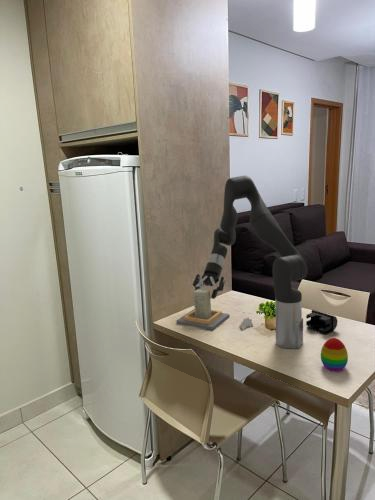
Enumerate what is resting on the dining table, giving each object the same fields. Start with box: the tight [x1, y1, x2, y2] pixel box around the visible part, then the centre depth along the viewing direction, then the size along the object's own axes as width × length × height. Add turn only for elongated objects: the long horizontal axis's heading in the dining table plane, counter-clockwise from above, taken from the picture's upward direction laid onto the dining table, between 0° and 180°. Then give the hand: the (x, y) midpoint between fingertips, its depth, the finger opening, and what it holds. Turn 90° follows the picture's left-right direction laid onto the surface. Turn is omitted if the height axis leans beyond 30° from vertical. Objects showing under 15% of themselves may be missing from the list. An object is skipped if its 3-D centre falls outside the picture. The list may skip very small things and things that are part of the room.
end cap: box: [305, 309, 338, 336], centre depth 151 cm, size 10×7×7 cm
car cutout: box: [239, 317, 254, 330], centre depth 155 cm, size 15×7×4 cm, turn 123°
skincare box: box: [193, 288, 212, 319], centre depth 166 cm, size 6×4×12 cm
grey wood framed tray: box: [175, 308, 230, 331], centre depth 167 cm, size 18×16×3 cm
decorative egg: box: [320, 337, 349, 372], centre depth 121 cm, size 8×8×10 cm
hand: (204, 296), depth 167 cm, fingers open, 8 cm apart
